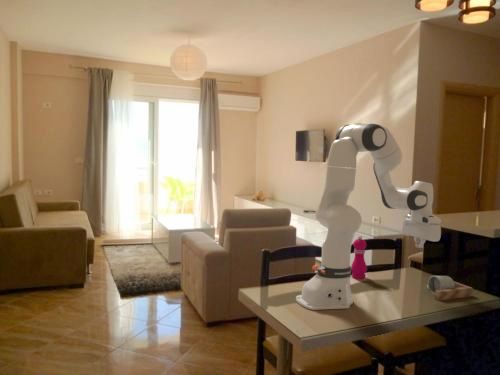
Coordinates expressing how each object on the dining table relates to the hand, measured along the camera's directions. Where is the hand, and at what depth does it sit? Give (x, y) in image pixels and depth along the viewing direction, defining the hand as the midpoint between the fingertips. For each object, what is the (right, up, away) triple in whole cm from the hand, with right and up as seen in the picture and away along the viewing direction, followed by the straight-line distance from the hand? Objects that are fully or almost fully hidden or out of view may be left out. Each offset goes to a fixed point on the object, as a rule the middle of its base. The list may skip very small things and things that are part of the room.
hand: (419, 247), depth 184 cm
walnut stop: (+6, -18, -11) cm, 22 cm away
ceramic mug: (+4, -18, -10) cm, 21 cm away
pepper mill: (-25, -16, +10) cm, 31 cm away
